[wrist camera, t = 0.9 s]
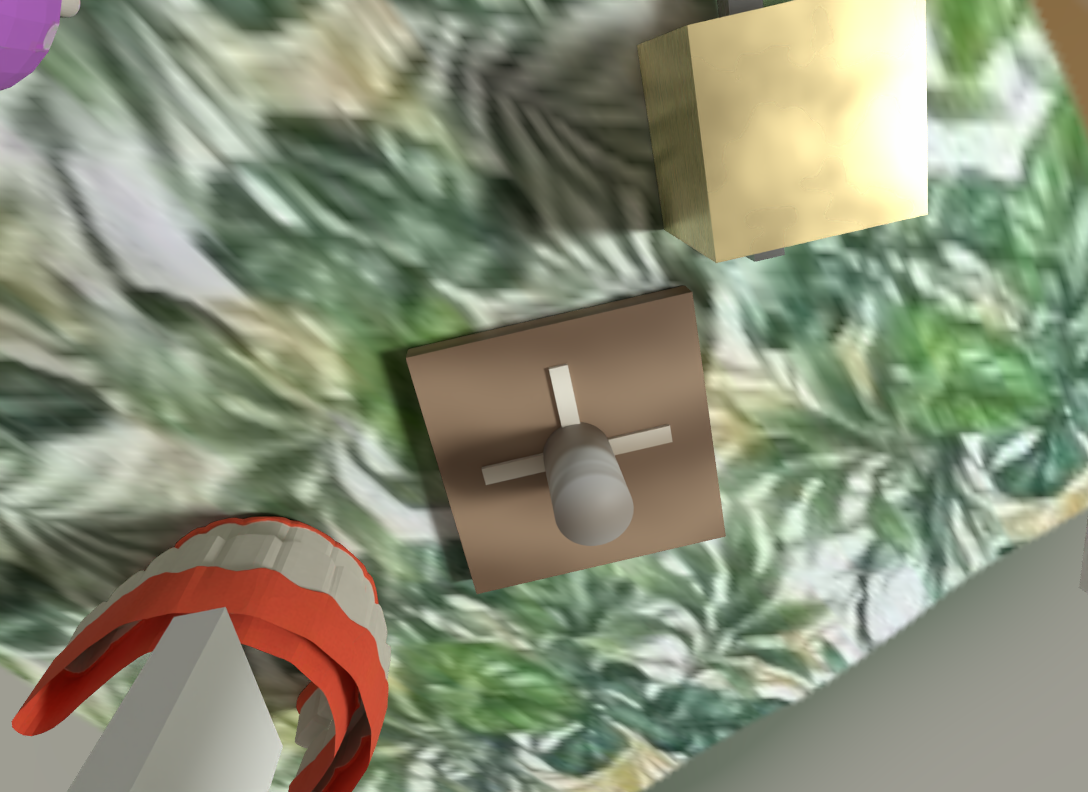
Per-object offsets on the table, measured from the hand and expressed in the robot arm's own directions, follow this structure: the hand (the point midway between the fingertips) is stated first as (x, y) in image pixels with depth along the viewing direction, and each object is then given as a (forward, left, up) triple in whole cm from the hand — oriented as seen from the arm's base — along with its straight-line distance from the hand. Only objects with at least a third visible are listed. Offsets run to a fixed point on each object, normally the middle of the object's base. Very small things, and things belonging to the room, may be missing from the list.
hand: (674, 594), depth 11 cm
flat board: (+7, 0, -21) cm, 22 cm away
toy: (+12, -15, -21) cm, 29 cm away
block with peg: (-5, +9, -21) cm, 23 cm away
